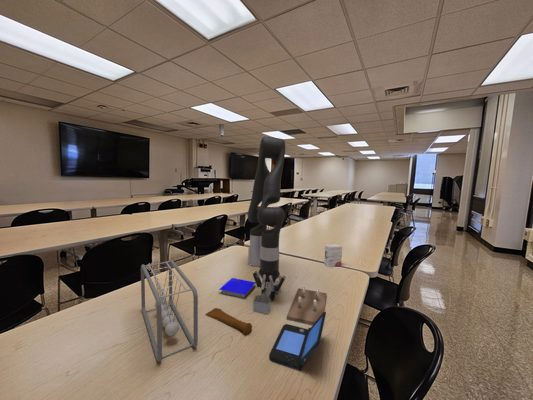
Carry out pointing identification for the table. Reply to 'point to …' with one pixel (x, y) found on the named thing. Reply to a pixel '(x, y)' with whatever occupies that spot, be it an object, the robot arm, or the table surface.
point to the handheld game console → (297, 344)
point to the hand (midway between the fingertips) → (268, 298)
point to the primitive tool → (229, 320)
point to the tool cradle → (307, 306)
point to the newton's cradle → (167, 309)
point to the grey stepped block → (264, 300)
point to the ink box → (333, 255)
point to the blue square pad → (237, 287)
